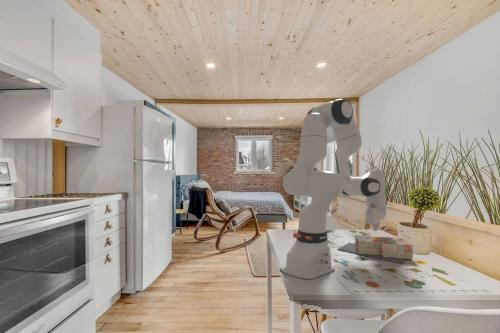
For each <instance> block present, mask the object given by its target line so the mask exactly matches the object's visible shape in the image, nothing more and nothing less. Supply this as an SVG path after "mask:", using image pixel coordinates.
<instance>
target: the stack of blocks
mask: <svg viewBox="0 0 500 333" xmlns="http://www.w3.org/2000/svg"><path fill="white" fill-rule="evenodd" d="M354 238H355V239H354V240H355V243H354V244H355V247H356V249H357V251H358V252H359V254H371V255H381V256H382V257H389V258H390V257H391V258H405V259H406V260H413V256H414V252H413V246H414V245H413V244H411V243H410V242H409V241H407V240H406V239H404V238H401V237H393V236H391V237H390V236H368V235H367V236H366V235H355V237H354ZM359 254H358V255H359Z"/></svg>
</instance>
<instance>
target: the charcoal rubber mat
mask: <svg viewBox="0 0 500 333" xmlns="http://www.w3.org/2000/svg"><path fill="white" fill-rule="evenodd" d="M336 250H337V251H341V252H346V253H351V254H356V255H359V256H364V257H369V258H374V259H377V260H382V261H387V262H392V263H395V264H400V265H403V264H404V263H405V262H406V261H407V259H405V258H391V257H390V258H389V257H382V256H381V255H371V254H359V252H358V251H357V249H356V247H355V243H353V242H348V243H345V244H344V245H342V246H340V247H338V248H337V249H336Z"/></svg>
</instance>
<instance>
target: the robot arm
mask: <svg viewBox="0 0 500 333" xmlns="http://www.w3.org/2000/svg"><path fill="white" fill-rule="evenodd" d="M353 114H354V108H353V106H352V103H351V102H350V101H348V100H347V99H344V98H338V99H335V100H332V101H328V102H325V103H321V104H320V105H317V106H316V107H315V106H314V107H313V108H311V109H310V110H309V111H308V112H307V113H306V115H305V117H304V118H303V121H302V125H301V131H300V147H299V153H298V154H299V155H298V159H297V161H296V163H295V164H294V166H293V168H291V170H289V171H288V172H287V173H286V174H285V176H284V177H283V181H282V187H283V189H284V191H285V192H286V193H287V194H288V195H292V196H295V197H305V198H306V197H307V198H311V201H310V204H307V205H305V206H303V207H302V208H301V209H300V210H299V212H298V229H297V232H293V234H292V237H293V238H294V239H296V241H295V242H294V243H293V245H292V246H291V247H290V248H289V251H288V252H287V253H286V262H285V263H283V264H281V265H280V267H279V269H280V271H281V272H283V273H285V274H287V275H289V276H292V277H296V278H298V279H299V278H300V279H306V280H312V279H315V278H317V277H320V276H323V275H327V274H329V273H332V272H334V271H335V266H334V265H332V254H331V252H332V251H331V247H330V246H329V244H328V242H327V241H328V231H327V215H328V211H329V208H330V206H331V204H332V203H333V202H334V201H335V200H336V199H337V198H339V197H341V195H343V196H346V197H354V196H355V197H364V198H365V205H366V208H365V209H366V210H365V223H366V224H371V225H372V230H373V232H377V231H379V230H380V223H381V221H383V220H385V219H386V217H387V206H388V200H387V197H386V188H387V187H386V185H387V184H386V183H387V182H386V176H385V173H384V171H381V170H378V169H369V170H367V172H366V173H365V174H364V175H362V176H353V175H352V174H351V170H350V165H349V164H350V163H349V159H350V157H351V156H353V155H354V154H355V153H357V152H358V151H359V150H360V148H361V147H362V144H363V143H362V136H361V133H360V130H359V128H358V127H359V126H358V125H357V122H356V120H355V119H354V116H353ZM328 128H331V129H332V131H333V136H334V139H335V143H336V150H335V154H334V156H335V158H334V159H335V164H336V169H337V172H335V171H330V170H314V168H315V167H316V166H317V164H318V163H321V162H322V161H324V160H325V158H327V155H328V154H327V152H328Z"/></svg>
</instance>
